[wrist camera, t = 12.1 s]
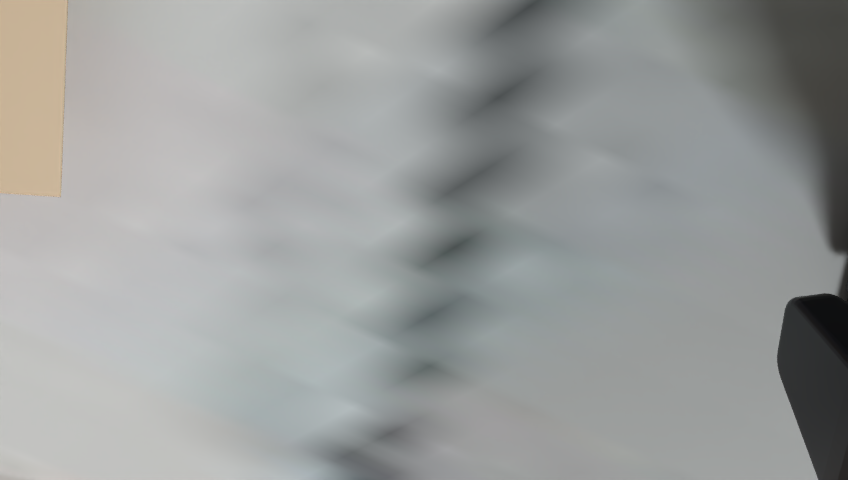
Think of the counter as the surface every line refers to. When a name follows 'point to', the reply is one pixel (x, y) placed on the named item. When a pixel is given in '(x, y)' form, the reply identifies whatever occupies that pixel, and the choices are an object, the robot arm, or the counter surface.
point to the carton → (32, 95)
